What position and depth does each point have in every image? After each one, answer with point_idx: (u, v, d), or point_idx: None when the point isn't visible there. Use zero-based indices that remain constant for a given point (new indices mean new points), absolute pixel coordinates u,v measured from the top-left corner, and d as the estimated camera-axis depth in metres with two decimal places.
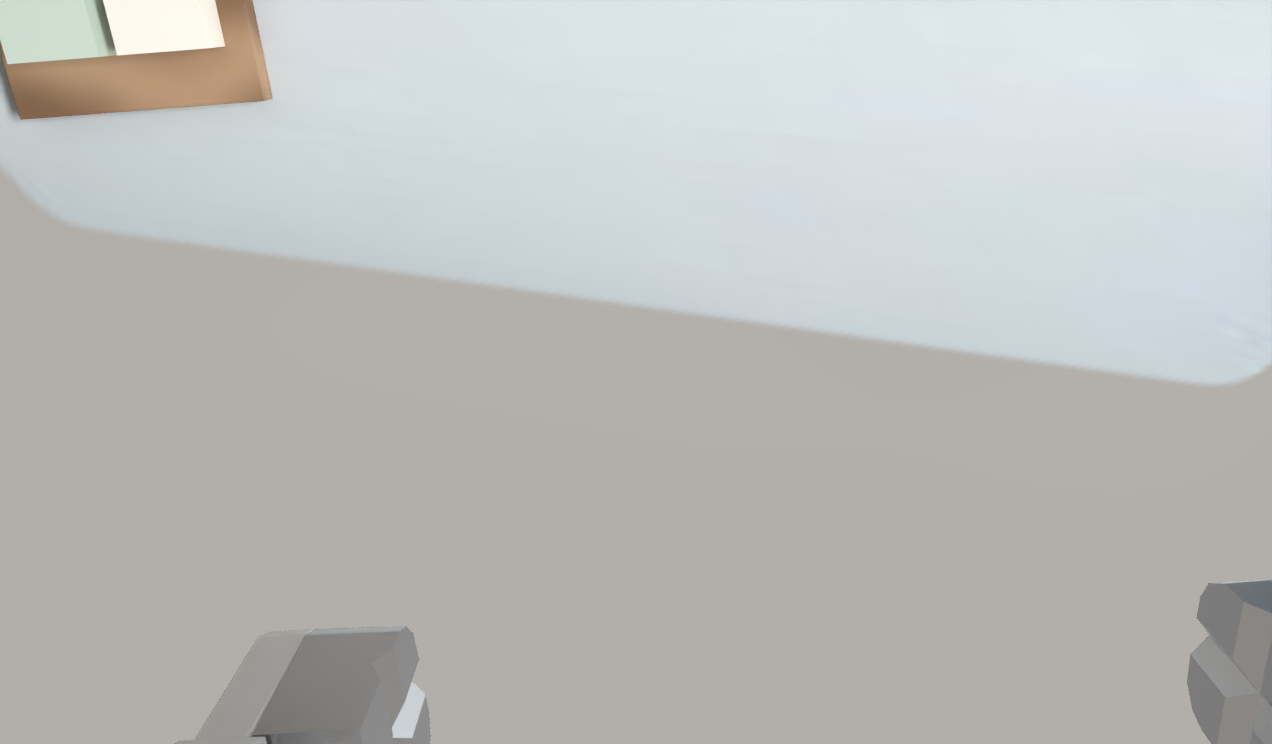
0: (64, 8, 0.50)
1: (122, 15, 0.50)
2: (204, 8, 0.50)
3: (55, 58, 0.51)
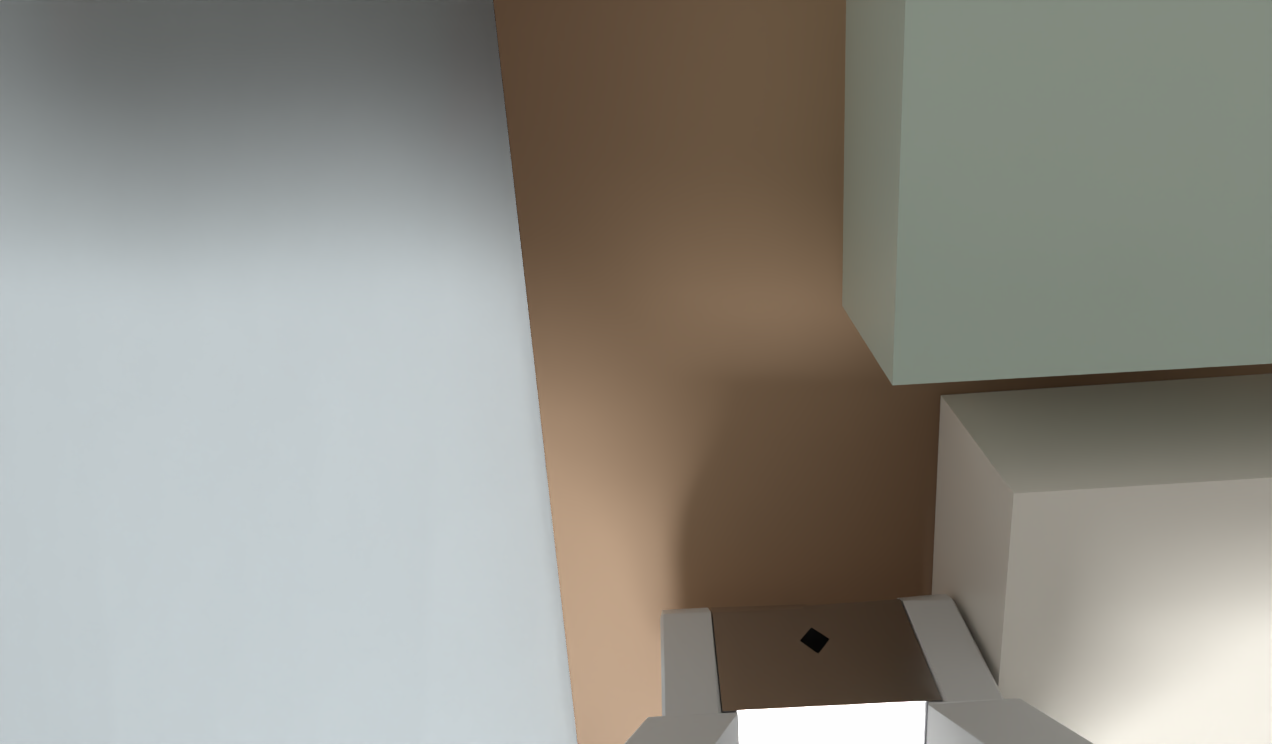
0: (1251, 216, 0.07)
1: (1245, 567, 0.08)
2: None
3: (917, 60, 0.06)
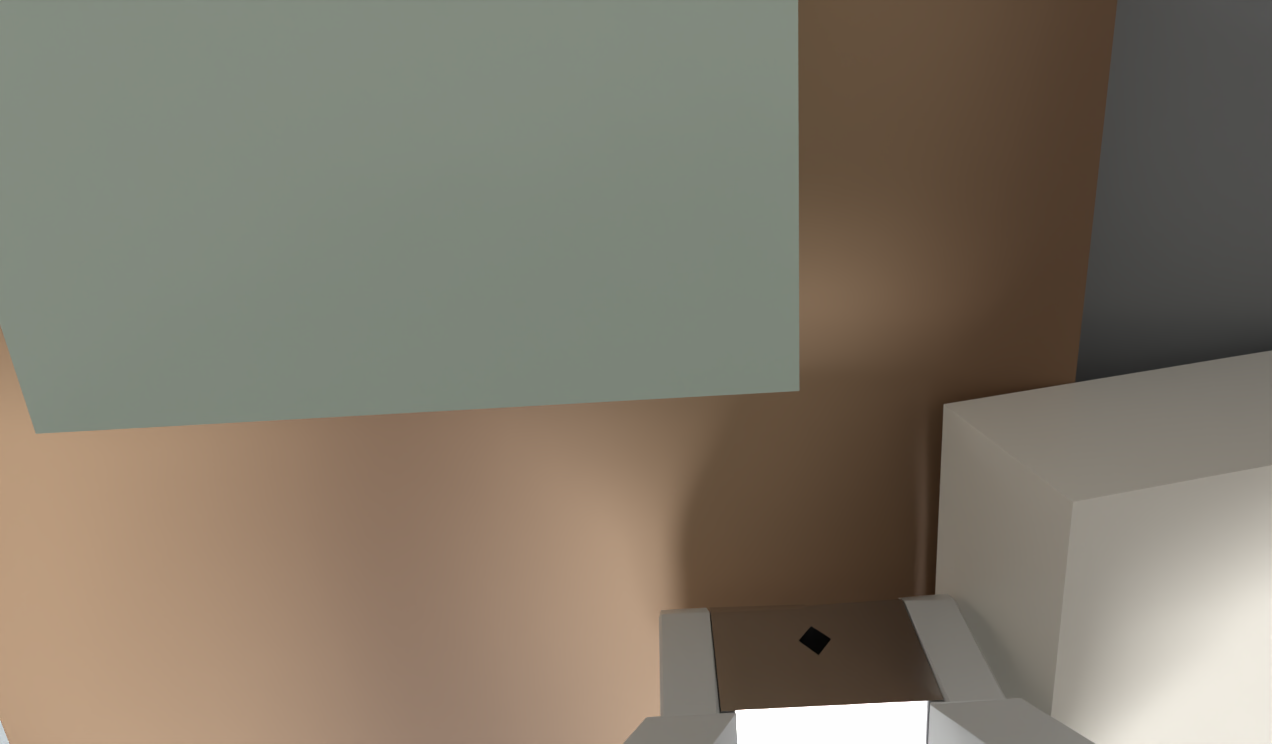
0: (321, 275, 0.07)
1: None
2: None
3: None
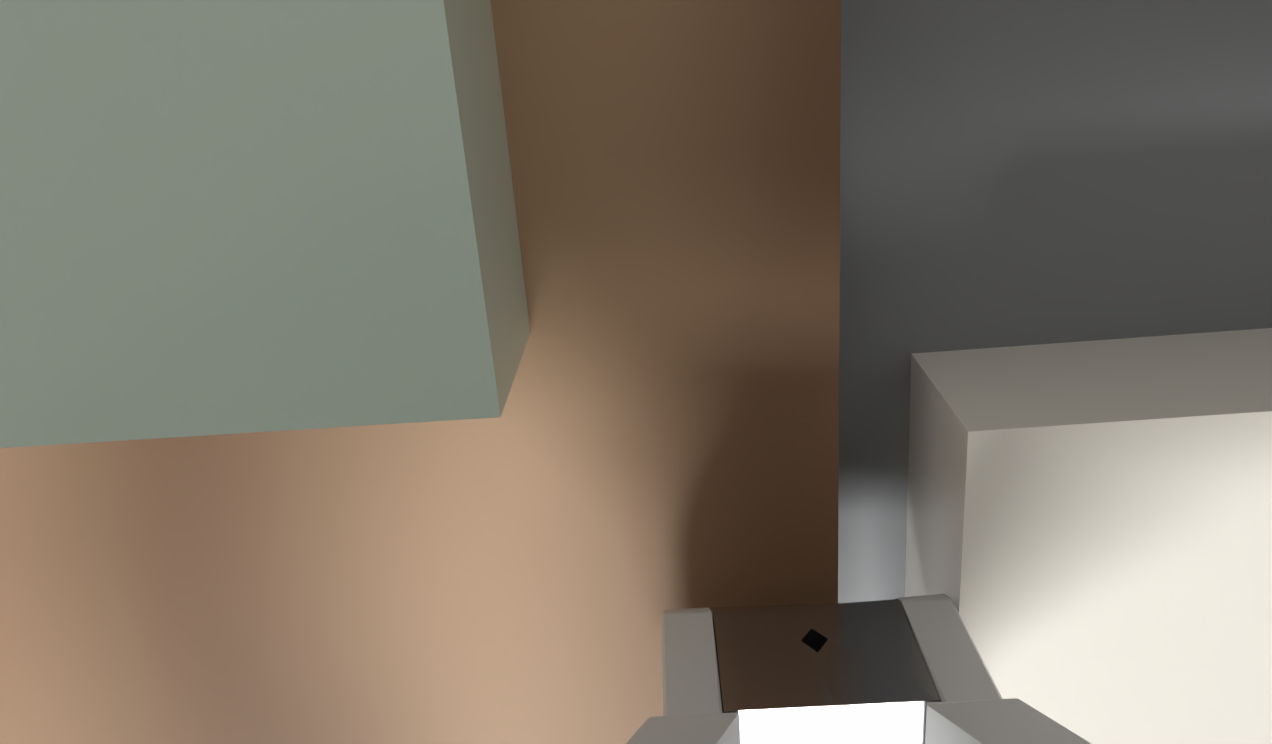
0: (21, 307, 0.07)
1: (1176, 497, 0.09)
2: None
3: None
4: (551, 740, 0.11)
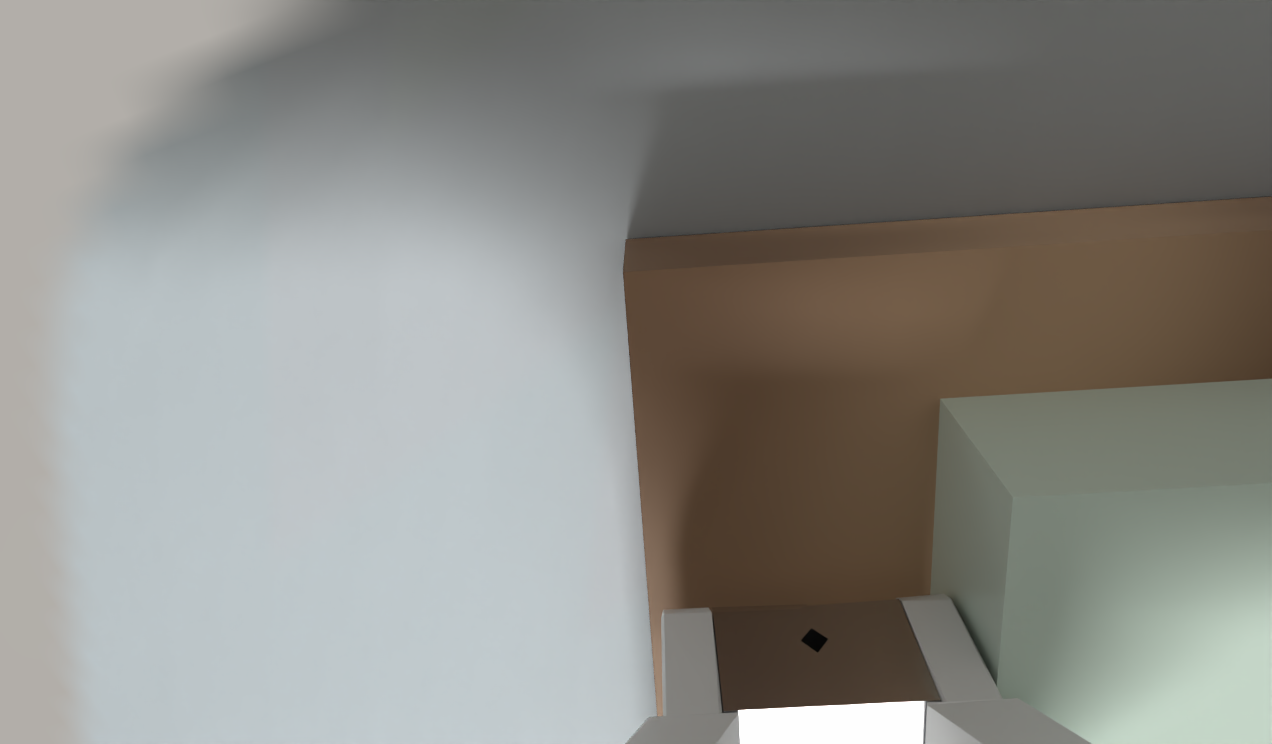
0: None
1: None
2: None
3: None
4: None
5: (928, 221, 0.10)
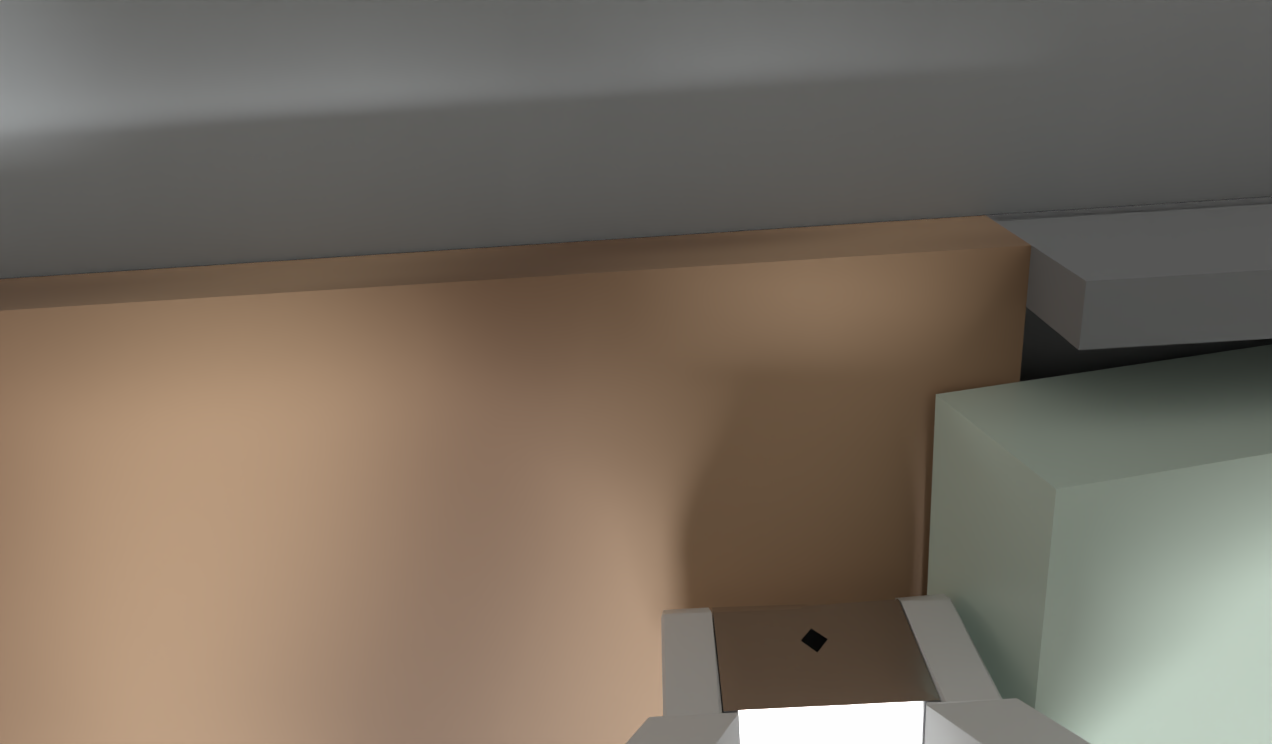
0: None
1: None
2: None
3: None
4: None
5: (166, 270, 0.10)
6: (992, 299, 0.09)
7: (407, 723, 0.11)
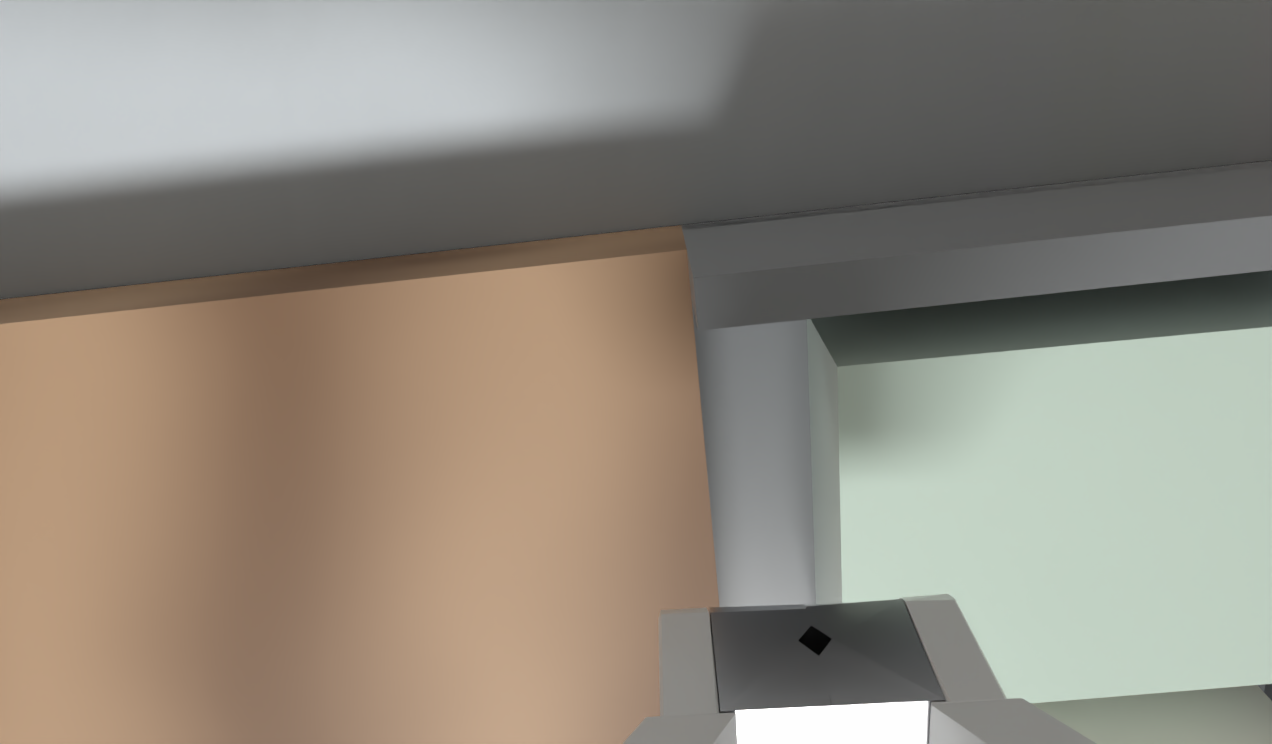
0: (1040, 630, 0.12)
1: None
2: None
3: (849, 565, 0.12)
4: None
5: (20, 298, 0.13)
6: (663, 293, 0.11)
7: (243, 663, 0.13)
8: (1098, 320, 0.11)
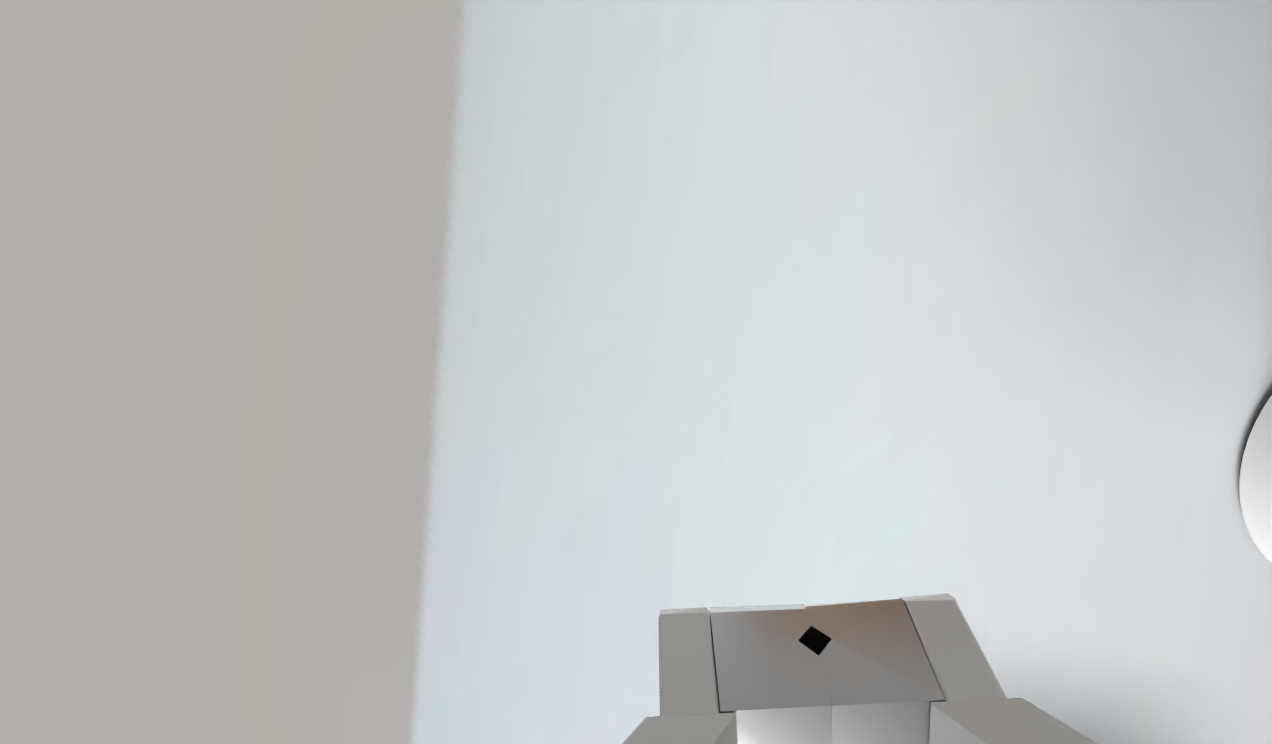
0: None
1: None
2: None
3: None
4: None
5: None
6: None
7: None
8: None
